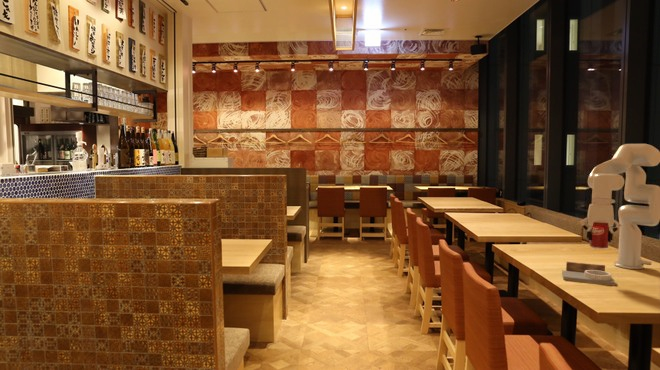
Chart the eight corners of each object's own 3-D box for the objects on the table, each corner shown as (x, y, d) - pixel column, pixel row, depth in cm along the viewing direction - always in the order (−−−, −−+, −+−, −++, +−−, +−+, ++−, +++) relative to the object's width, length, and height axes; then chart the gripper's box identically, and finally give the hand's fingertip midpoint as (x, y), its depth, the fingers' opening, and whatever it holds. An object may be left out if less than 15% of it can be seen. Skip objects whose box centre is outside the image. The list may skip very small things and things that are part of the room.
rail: (604, 275, 215) (604, 265, 215) (604, 276, 214) (605, 265, 214) (566, 271, 222) (566, 261, 222) (566, 272, 220) (566, 262, 220)
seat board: (610, 278, 210) (610, 271, 210) (614, 285, 199) (615, 277, 199) (562, 273, 218) (562, 266, 218) (563, 279, 207) (563, 272, 207)
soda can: (599, 249, 201) (600, 222, 201) (585, 246, 208) (587, 220, 208) (612, 249, 203) (613, 222, 203) (598, 245, 210) (600, 220, 210)
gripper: (622, 202, 204) (620, 241, 206) (578, 200, 212) (576, 237, 213) (625, 203, 198) (623, 244, 199) (580, 201, 205) (578, 240, 206)
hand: (599, 240), depth 206 cm, fingers closed on soda can, 7 cm apart
